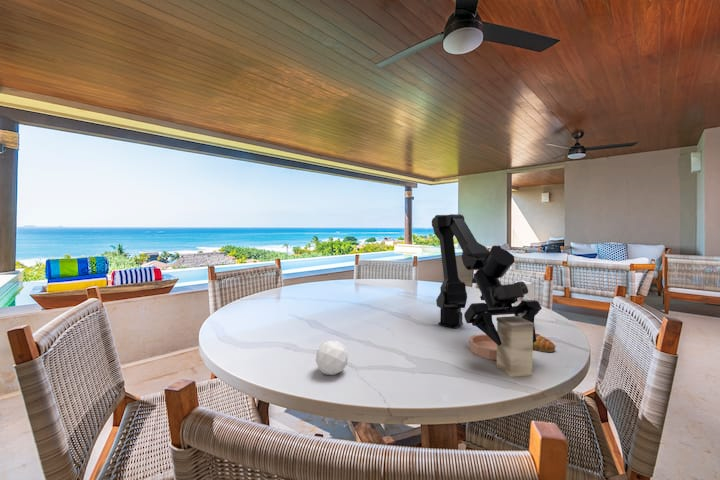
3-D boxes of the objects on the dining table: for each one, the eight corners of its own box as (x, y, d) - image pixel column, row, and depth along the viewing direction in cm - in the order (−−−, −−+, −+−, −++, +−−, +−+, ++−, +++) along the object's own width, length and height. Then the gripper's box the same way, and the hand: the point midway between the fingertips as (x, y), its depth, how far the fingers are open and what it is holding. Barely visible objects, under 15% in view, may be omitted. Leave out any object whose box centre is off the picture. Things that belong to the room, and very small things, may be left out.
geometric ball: (323, 385, 73) (303, 357, 74) (344, 362, 79) (325, 337, 79) (338, 381, 68) (317, 351, 68) (360, 357, 74) (340, 330, 74)
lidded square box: (495, 365, 77) (496, 317, 76) (516, 363, 78) (517, 315, 77) (510, 377, 71) (511, 325, 70) (533, 375, 72) (534, 323, 71)
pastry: (559, 349, 86) (560, 336, 86) (548, 356, 82) (548, 342, 82) (525, 339, 94) (526, 327, 94) (514, 345, 90) (514, 332, 90)
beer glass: (537, 328, 103) (539, 284, 102) (517, 328, 103) (518, 284, 102) (527, 321, 110) (528, 280, 109) (507, 321, 110) (508, 280, 109)
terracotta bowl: (462, 351, 85) (462, 342, 85) (478, 339, 94) (478, 331, 94) (507, 364, 77) (507, 354, 77) (519, 349, 86) (520, 341, 86)
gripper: (470, 271, 75) (497, 331, 65) (537, 269, 79) (572, 325, 68) (455, 295, 84) (476, 351, 73) (516, 292, 87) (544, 345, 77)
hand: (517, 343), depth 73 cm, fingers open, 9 cm apart
